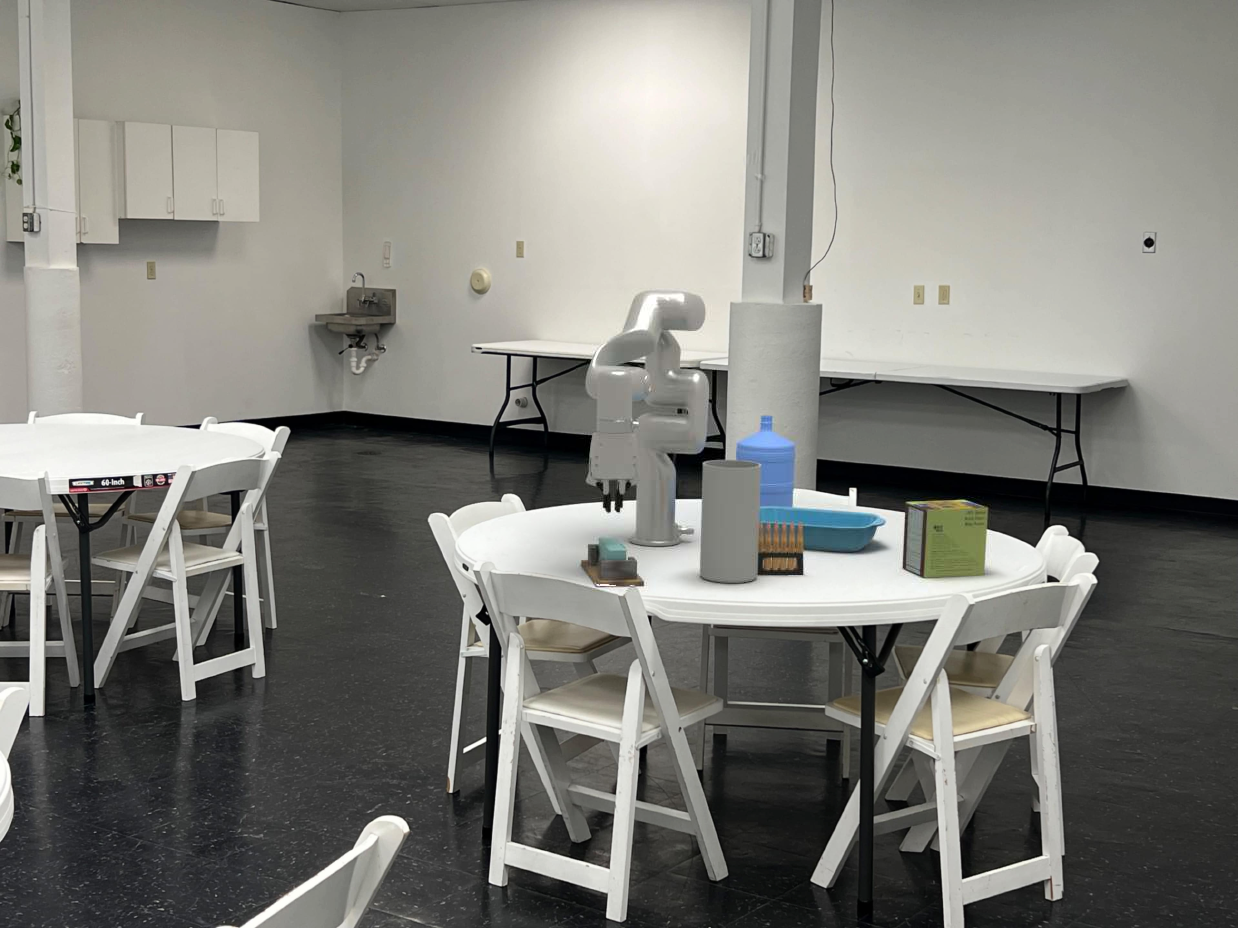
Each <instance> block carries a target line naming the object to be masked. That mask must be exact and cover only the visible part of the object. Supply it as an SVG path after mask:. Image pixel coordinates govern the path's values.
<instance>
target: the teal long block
mask: <svg viewBox="0 0 1238 928" xmlns="http://www.w3.org/2000/svg"><path fill="white" fill-rule="evenodd" d="M598 544H599V555H598V558H603V557H604V558H605V559H606V560H627V549H626V548H624V547H625V546H624V545H623V544H622V543H621V542H620V541H619V540H618V539H617V538H616V537H613V536H612V537H611V536H610V537H598ZM621 544H622V545H623V546H624V547H623V546H622V545H621Z"/></svg>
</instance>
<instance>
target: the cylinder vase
mask: <svg viewBox="0 0 1238 928" xmlns="http://www.w3.org/2000/svg"><path fill="white" fill-rule="evenodd" d="M760 484H761V464H759V463H756V462H750V461H741V460H736V459H716V460H714V459H713V460H707V461H704V462H702V489H701V520H700V554H699V555H700V557H699V559H700V560H699V575H700V576H701V578H702V579H704V580H706V581H710V582H713V583H720V584H721V583H722V584H744V582H745V583H749V581H750V582H752V581H754V580H756V579H757V578H758V575H757V573H758V543H759V514H760Z"/></svg>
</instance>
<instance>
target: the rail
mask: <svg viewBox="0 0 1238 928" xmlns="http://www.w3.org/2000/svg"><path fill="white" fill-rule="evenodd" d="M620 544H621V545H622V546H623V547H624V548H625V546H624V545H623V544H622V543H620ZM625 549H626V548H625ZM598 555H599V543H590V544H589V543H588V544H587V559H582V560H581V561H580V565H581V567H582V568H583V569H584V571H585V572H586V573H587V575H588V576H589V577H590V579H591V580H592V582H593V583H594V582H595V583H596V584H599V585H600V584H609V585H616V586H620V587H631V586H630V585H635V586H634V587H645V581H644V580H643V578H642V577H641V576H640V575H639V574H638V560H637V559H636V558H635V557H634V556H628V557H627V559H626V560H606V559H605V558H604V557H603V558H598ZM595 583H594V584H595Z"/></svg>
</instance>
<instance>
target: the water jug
mask: <svg viewBox="0 0 1238 928" xmlns="http://www.w3.org/2000/svg"><path fill="white" fill-rule="evenodd" d="M773 417H774V416H773V415H767V414H766V415H760V418H761V419H760V429H759V431H757V432H754V433H753V434H751V435H749V436H747V437H745V438H742V439H740V440H738V441H737V442H736V449H735V458H736V459H735V460H741V461H750V462H756V463H759V464H761V484H760V507H763V506H780V507H794V506H793V505H794V491H795V490H794V489H795V479H794V478H795V477H794V476H795V459H796V450H795V449H796V445H795V443H794V442H793V441H791V440H789V439H787V438H785V437H783V436H781V435H779V434H777V433H776V432H774V431H773V424H774V423H773Z"/></svg>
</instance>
